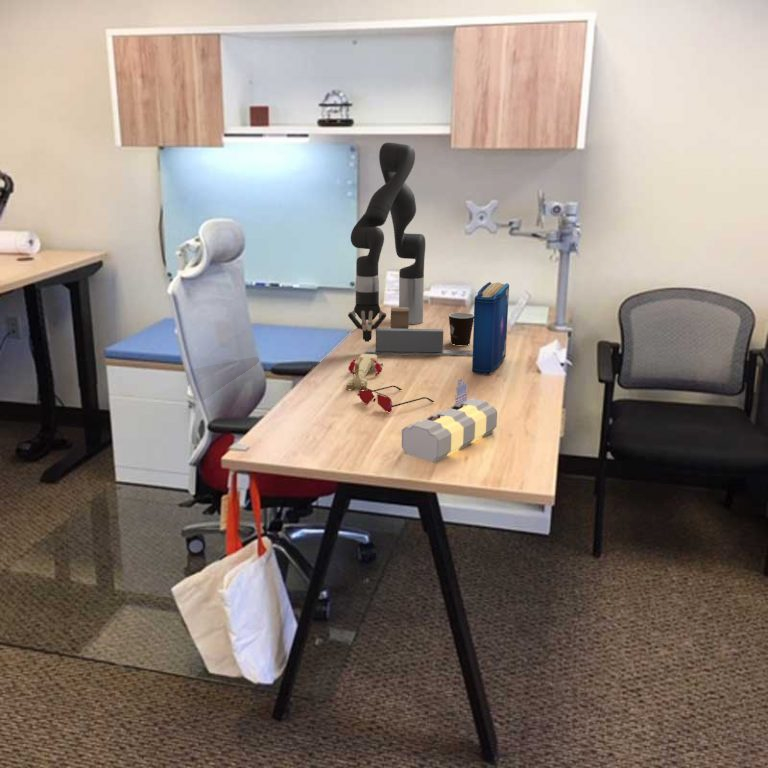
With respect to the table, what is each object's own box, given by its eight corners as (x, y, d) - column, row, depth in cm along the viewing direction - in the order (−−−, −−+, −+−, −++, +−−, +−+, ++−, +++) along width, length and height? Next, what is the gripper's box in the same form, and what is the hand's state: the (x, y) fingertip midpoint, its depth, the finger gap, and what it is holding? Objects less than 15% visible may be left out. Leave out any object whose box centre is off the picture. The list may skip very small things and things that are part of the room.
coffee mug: (473, 347, 278) (475, 318, 275) (448, 346, 278) (449, 318, 275) (471, 338, 289) (472, 310, 286) (446, 338, 289) (447, 310, 286)
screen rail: (365, 351, 272) (365, 348, 272) (486, 352, 271) (486, 350, 271) (365, 354, 268) (365, 352, 268) (487, 356, 267) (487, 353, 267)
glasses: (356, 403, 223) (356, 385, 222) (402, 391, 233) (402, 374, 232) (389, 417, 213) (389, 398, 211) (435, 404, 223) (436, 386, 222)
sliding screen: (375, 348, 271) (375, 328, 269) (442, 349, 271) (443, 329, 269) (375, 351, 268) (375, 330, 266) (442, 352, 268) (443, 331, 266)
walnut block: (390, 340, 285) (391, 307, 282) (408, 341, 285) (408, 307, 281) (390, 345, 279) (390, 311, 275) (408, 345, 279) (408, 311, 275)
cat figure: (373, 396, 232) (386, 364, 255) (373, 367, 229) (386, 338, 252) (339, 394, 234) (354, 363, 256) (338, 365, 230) (354, 336, 253)
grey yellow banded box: (461, 424, 208) (463, 375, 204) (496, 433, 202) (498, 383, 198) (401, 453, 189) (402, 400, 185) (438, 465, 183) (439, 409, 179)
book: (492, 377, 245) (496, 295, 237) (469, 375, 247) (472, 293, 240) (505, 358, 265) (510, 282, 257) (484, 356, 267) (487, 280, 259)
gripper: (388, 287, 267) (387, 338, 273) (347, 286, 268) (347, 337, 273) (387, 291, 260) (386, 344, 265) (345, 291, 260) (346, 343, 266)
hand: (367, 341), depth 269 cm, fingers closed
